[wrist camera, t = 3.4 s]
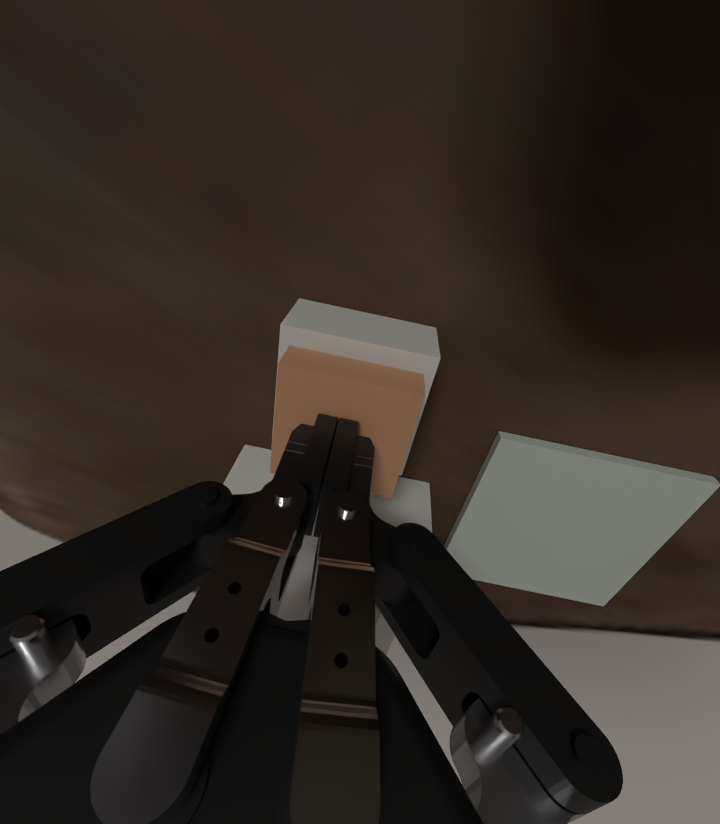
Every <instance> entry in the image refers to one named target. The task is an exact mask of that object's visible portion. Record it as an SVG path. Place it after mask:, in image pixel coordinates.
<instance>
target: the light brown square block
mask: <svg viewBox="0 0 720 824" xmlns="http://www.w3.org/2000/svg"><path fill="white" fill-rule="evenodd" d="M424 397H425V384H424V374H422V373H417V372H412V371H408V370H403V369H398V368H394V367H389V366H384V365H380V364H375V363H370V362H366V361H361V360H356V359H352V358H347V357H342V356H338V355H333V354H328V353H324V352H319V351H314V350H309V349H305V348H300V347H295V346H291V345H289V347H288V348H287V350H286V352H285V353H284V355H283V356H282V358H281V360H280V361H279V363H278V371H277V384H276V398H275V411H274V425H273V438H272V452H271V465H270V473H273V474H275V472H276V470H277V467H278V465H279V462H280V460H281V457H282V455H283V452H284V450H285V447H286V445H287V442H288V440H289V437H290V435H291V432H292V431H293V430H294V429H295V428H296V427H298V426H299V425H300V424H306V425H311V426H314V424H315V421H316V418H317V415H318V413H321V414H326V415H330V416H335V417H338V420H337V425H338V421H339V417H340V418H345V419H350V420H355V421H359V423H358V428H357V434H356V435H359V436H364V437H369V438H370V439H371V441H372V443H373V445H374V447H375V450H374V459H373V468H372V479H371V488H370V494H373V495H378V496H383V497H387V498H392V496H393V493H394V489H395V486H396V483H397V480H398V477H399V474H400V471H401V468H402V465H403V462H404V459H405V456H406V453H407V450H408V446H409V443H410V440H411V437H412V434H413V431H414V428H415V425H416V422H417V419H418V416H419V413H420V410H421V406H422V403H423V400H424ZM337 425H336V429H337ZM335 433H336V430H335ZM334 437H335V436H334Z"/></svg>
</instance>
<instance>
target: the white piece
mask: <svg viewBox="0 0 720 824" xmlns="http://www.w3.org/2000/svg"><path fill="white" fill-rule="evenodd" d="M289 345H291V346H295V347H300V348H305V349H309V350H314V351H319V352H324V353H328V354H333V355H338V356H342V357H347V358H352V359H356V360H361V361H366V362H370V363H375V364H380V365H384V366H389V367H394V368H398V369H403V370H408V371H412V372H417V373H422V374H424V384H425V397H424V400H423V403H422V406H421V410H420V413H419V416H418V419H417V422H416V425H415V428H414V431H413V434H412V437H411V440H410V443H409V446H408V450H407V453H406V456H405V459H404V462H403V465H402V468H401V471H400V474H399V475H401V476H402V473H403V470H404V467H405V464H406V461H407V458H408V455H409V452H410V449H411V446H412V443H413V440H414V437H415V434H416V431H417V428H418V425H419V422H420V419H421V416H422V413H423V410H424V407H425V403H426V400H427V397H428V394H429V391H430V388H431V385H432V382H433V379H434V376H435V373H436V370H437V367H438V364H439V361H440V352H439V345H438V338H437V331H436V328H435V327H430V326H426V325H421V324H417V323H412V322H407V321H403V320H398V319H393V318H389V317H384V316H379V315H375V314H370V313H365V312H361V311H356V310H352V309H347V308H342V307H338V306H333V305H328V304H324V303H319V302H314V301H310V300H305V299H301V298H299V300H298V301H297V302H296V304H295V305H294V306H293V308H292V309H291V311H290V312H289V313H288V315H287V316H286V317H285V319H284V320H283V322H282V323H281V326H280V340H279V353H278V363H279V361H280V360H281V358H282V356H283V355H284V353H285V352H286V350H287V348H288V347H289ZM277 371H278V367H277ZM276 384H277V380H276ZM275 398H276V394H275ZM274 411H275V407H274ZM273 425H274V421H273ZM272 438H273V435H272ZM271 452H272V450H269V449H264V448H259V447H255V446H250V445H245V446H244V447H243V449H242V451H241V453H240V455H239V456H238V458H237V460H236V462H235V464H234V465H233V467H232V469H231V471H230V473H229V474H228V476H227V478H226V480H225V482H224V485H225V486H227V487H228V488H229V489H230V491H231V493H232V495H235V494H250V493H255V492H258V491H260V490H262V488H263V487H264V486H265V485H266V484H267V483H268V482H270V481H272V479H273V477H274V475H275V474H273V473H270V465H271ZM369 502H370V506H371V508H372V510H373V512H374V513H375V514H376V515H377V516H378V517H379V518H380V519H382V520H383V521H385V522H387V523H389V524H391V525H393V526H395V527H397V526H399V525H400V524H403V523H416V524H419V525H422V526H424V527H425V528H427V529H428V530H430V531H431V532H432V521H431V503H430V485H429V483H426V482H422V481H417V480H412V479H407V478H402V477H398V480H397V483H396V486H395V489H394V493H393V496H392V498H387V497H383V496H378V495H373V494H370V497H369ZM318 507H319V506H318ZM317 513H318V510H317ZM316 518H317V514H316ZM316 518H315V522H314V526H313V531H312V535H311V536H308V535H304V539H303V541H305V542H309V543H314V544H317V542H318V537H313V535H314V529H315V524H316ZM394 635H395V634H394V633H393V631H392V630H391V628H390V626H389V625H388V623H387V622H386V620H385V619H384V617H383V615H382V614H381V612H380V611H379V609H378V608H377V606H376V604H375V646H376V647H377V648H379V649H380V650H381V651H382V652H383V653H384V654H385V655H386V653H387V651H388V649H389V646H390V644H391V642H392V640H393V638H394Z"/></svg>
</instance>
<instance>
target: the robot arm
mask: <svg viewBox="0 0 720 824" xmlns="http://www.w3.org/2000/svg"><path fill="white" fill-rule="evenodd" d="M337 420H338V417H335V416H330V415H326V414H321V413H318V415H317V418H316V421H315V424H314V426H311V425H306V424H300V425H299V426H298V427H296V428H295V429H294V430H293V431H292V432H291V435H290V437H289V440H288V442H287V445H286V447H285V450H284V452H283V455H282V457H281V460H280V462H279V465H278V467H277V470H276V472H275V475H274V477H273V479H272V481H270V482H268V483H267V484H266V485H265V486H264V487H263V488H262V490H260V491H258V492H255V493H250V494H235V495H232V493H231V491H230V489H229V488H228V487H227V486H225V485H224V484H221V483H219V482H213V481H206V482H200V483H197V484H194V485H192V486H190V487H187V488H185V489H183V490H181V491H179V492H176V493H174V494H172V495H170V496H167V497H165V498H163V499H161V500H158V501H156V502H154V503H152V504H150V505H147V506H145V507H143V508H141V509H138V510H136V511H134V512H132V513H129V514H127V515H125V516H123V517H120V518H118V519H116V520H114V521H112V522H109V523H107V524H105V525H103V526H100V527H98V528H96V529H94V530H91V531H89V532H87V533H85V534H82V535H80V536H78V537H76V538H74V539H71V540H69V541H67V542H65V543H62V544H60V545H58V546H56V547H54V548H51V549H49V550H47V551H45V552H43V553H40V554H38V555H36V556H34V557H31V558H29V559H27V560H24V561H22V562H20V563H18V564H15V565H13V566H11V567H9V568H7V569H4V570H2V571H0V824H568V823H570V822H572V821H573V820H575V819H578V818H579V817H582V816H583V815H585V814H587V813H590V812H592V811H593V810H595V809H597V808H599V807H602V806H604V805H606V804H608V803H610V802H612V801H613V800H615V799H616V798H617V797H618V796H619V794H620V792H621V789H622V784H623V775H622V769H621V765H620V762H619V759H618V757H617V754H616V753H615V750H614V748H613V746H612V745H611V743H610V742H609V740H608V739H607V738H606V736H605V735H604V734H603V733H602V732H601V730H600V729H599V728H598V727H597V726H596V725H595V723H594V722H593V721H592V720H591V719H590V717H589V716H588V715H587V714H586V713H585V712H584V710H583V709H582V708H581V707H580V706H579V704H578V703H577V702H576V701H575V700H574V699H573V698H572V696H571V695H570V694H569V693H568V692H567V690H566V689H565V688H564V687H563V686H562V685H561V683H560V682H559V681H558V680H557V679H556V678H555V676H554V675H553V674H552V673H551V672H550V670H549V669H548V668H547V667H546V666H545V665H544V663H543V662H542V661H541V660H540V659H539V658H538V656H537V655H536V654H535V653H534V652H533V650H532V649H531V648H530V647H529V646H528V645H527V643H526V642H525V641H524V640H523V639H522V638H521V636H520V635H519V634H518V633H517V632H516V631H515V629H514V628H513V627H512V626H511V625H510V624H509V622H508V621H507V620H506V619H505V618H504V616H503V615H502V614H501V613H500V612H499V611H498V609H497V608H496V607H495V606H494V605H493V604H492V602H491V601H490V600H489V599H488V598H487V597H486V595H485V594H484V593H483V592H482V591H481V590H480V588H479V587H478V586H477V585H476V584H475V582H474V581H473V580H472V579H471V578H470V577H469V575H468V574H467V573H466V572H465V571H464V570H463V568H462V567H461V566H460V565H459V564H458V563H457V561H456V560H455V559H454V558H453V557H452V555H451V554H450V553H449V552H448V551H447V550H446V548H445V547H444V546H443V545H442V544H441V543H440V541H439V540H438V539H437V538H436V537H435V536H434V534H433V533H432V532H431V531H430V530H428V529H427V528H425V527H424V526H422V525H419V524H416V523H403V524H400V525H399V526H397V527H395V526H393V525H391V524H389V523H387V522H385V521H383V520H382V519H380V518H379V517H378V516H377V515H376V514H375V513H374V512H373V510H372V508H371V506H370V502H369V497H370V488H371V479H372V468H373V459H374V450H375V447H374V445H373V443H372V441H371V439H370V438H369V437H364V436H359V435H356V434H357V428H358V423H359V421H355V420H350V419H345V418H340V417H339V421H338V425H337ZM336 425H337V429H336ZM335 430H336V433H335ZM334 436H335V437H334ZM318 506H319V507H318ZM317 510H318V513H317ZM316 514H317V518H316ZM315 518H316V524H315V529H314V535H313V537H318V542H317V547H316V552H315V557H314V563H313V571H312V578H311V586H310V593H309V600H308V608H307V615H306V620H295V621H286V620H283V619H281V618H279V617H277V614H278V611H279V608H280V605H281V602H282V599H283V596H284V594H285V591H286V588H287V585H288V582H289V580H290V577H291V574H292V571H293V569H294V566H295V563H296V560H297V557H298V553H299V550H300V549H301V546H302V543H303V539H304V535H308V536H311V535H312V531H313V526H314V522H315ZM200 586H201V587H200ZM198 587H200V588H199V590H198V592H197V594H196V595H195V597H194V599H193V601H192V603H191V605H190V606H189V608H188V610H187V612H185V613H182V614H179V615H177V616H175V617H172V618H171V619H169V620H167V621H165V622H163V623H161V624H160V625H158V626H157V627H155V628H154V629H152V630H151V631H150V632H148V633H147V634H145V635H144V636H142V637H141V638H140V639H138V640H137V641H135V642H134V643H132V644H131V645H130V646H128V647H127V648H125V649H124V650H122V651H121V652H119V653H118V654H116V655H115V656H113V657H112V658H111V659H109V660H108V661H106V662H105V663H103V664H102V665H101V666H99V667H98V668H96V669H95V670H93V671H92V672H90V673H89V674H87V675H86V676H85V677H83V678H82V679H80V680H79V681H77V682H76V680H77V679H78V678H79V676H80V674H81V673H82V671H83V669H84V666H85V662H86V658H88V657H89V656H91V655H92V654H94V653H95V652H97V651H99V650H100V649H102V648H103V647H105V646H107V645H108V644H110V643H111V642H113V641H115V640H116V639H118V638H119V637H121V636H122V635H124V634H126V633H127V632H129V631H130V630H132V629H133V628H135V627H137V626H138V625H140V624H141V623H143V622H145V621H146V620H148V619H149V618H151V617H152V616H154V615H156V614H157V613H159V612H160V611H162V610H163V609H165V608H167V607H168V606H170V605H171V604H173V603H175V602H176V601H178V600H179V599H181V598H182V597H184V596H186V595H187V594H189V593H191V592H192V591H194V590H195V589H197V588H198ZM375 604H376V606H377V608H378V609H379V611H380V612H381V614H382V615H383V617H384V619H385V620H386V622H387V623H388V625H389V626H390V628H391V630H392V631H393V633H394V634H395V636H396V637H397V639H398V641H399V642H400V644H401V645H402V647H403V648H404V650H405V652H406V653H407V655H408V656H409V658H410V659H411V661H412V663H413V664H414V666H415V667H416V669H417V670H418V672H419V674H420V675H421V677H422V678H423V680H424V681H425V683H426V685H427V686H428V688H429V689H430V691H431V692H432V694H433V696H434V697H435V698H436V700H437V702H438V703H439V705H440V707H441V708H442V710H443V711H444V713H445V714H446V716H447V718H448V719H449V721H450V722H451V724H452V725H453V729H452V731H451V735H450V751H451V756H452V759H453V762H454V765H455V767H456V769H457V771H458V773H459V775H460V778H461V781H462V784H461V782H460V780H459V778H458V777H457V775H456V773H455V772H454V770H453V768H452V766H451V765H450V762H449V761H448V759H447V757H446V756H445V754H444V752H443V750H442V748H441V746H440V745H439V743H438V741H437V739H436V738H435V736H434V734H433V732H432V730H431V729H430V727H429V725H428V723H427V721H426V720H425V718H424V716H423V714H422V713H421V711H420V709H419V707H418V705H417V704H416V702H415V700H414V698H413V697H412V695H411V693H410V691H409V689H408V688H407V686H406V684H405V682H404V681H403V679H402V677H401V675H400V673H399V672H398V670H397V669H396V667H395V666H394V665H393V663H392V662H391V660H390V659H389V658H388V657H387V656H386V655H385V654H384V653H383V652H382V651H381V650H380V649H379V648H377V647H376V646H375ZM75 682H76V683H75ZM462 785H463V786H462Z"/></svg>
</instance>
